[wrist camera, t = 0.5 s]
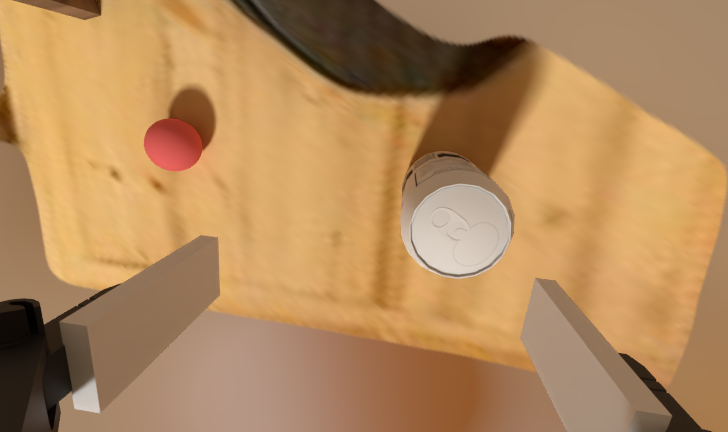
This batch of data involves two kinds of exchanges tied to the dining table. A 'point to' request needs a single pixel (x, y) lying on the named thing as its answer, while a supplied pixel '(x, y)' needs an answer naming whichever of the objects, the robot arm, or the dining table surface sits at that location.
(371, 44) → the dining table surface
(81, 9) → the bridge
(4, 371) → the robot arm
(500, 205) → the supplement can
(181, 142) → the ball
